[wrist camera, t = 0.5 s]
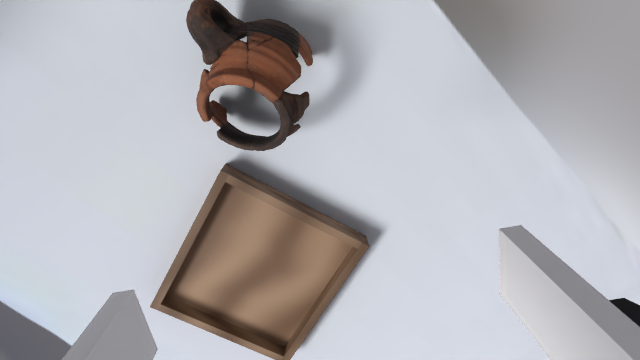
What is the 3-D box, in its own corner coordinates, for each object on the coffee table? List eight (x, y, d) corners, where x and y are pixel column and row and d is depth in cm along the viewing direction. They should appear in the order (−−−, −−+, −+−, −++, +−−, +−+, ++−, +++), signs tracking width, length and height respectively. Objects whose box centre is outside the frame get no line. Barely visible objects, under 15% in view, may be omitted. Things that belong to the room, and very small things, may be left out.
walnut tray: (157, 294, 40) (149, 306, 39) (225, 163, 36) (220, 170, 34) (287, 350, 43) (286, 364, 42) (366, 236, 39) (369, 246, 37)
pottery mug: (342, 72, 34) (327, 133, 28) (268, 115, 39) (243, 174, 34) (244, -52, 28) (201, -5, 22) (172, 19, 33) (123, 72, 28)
